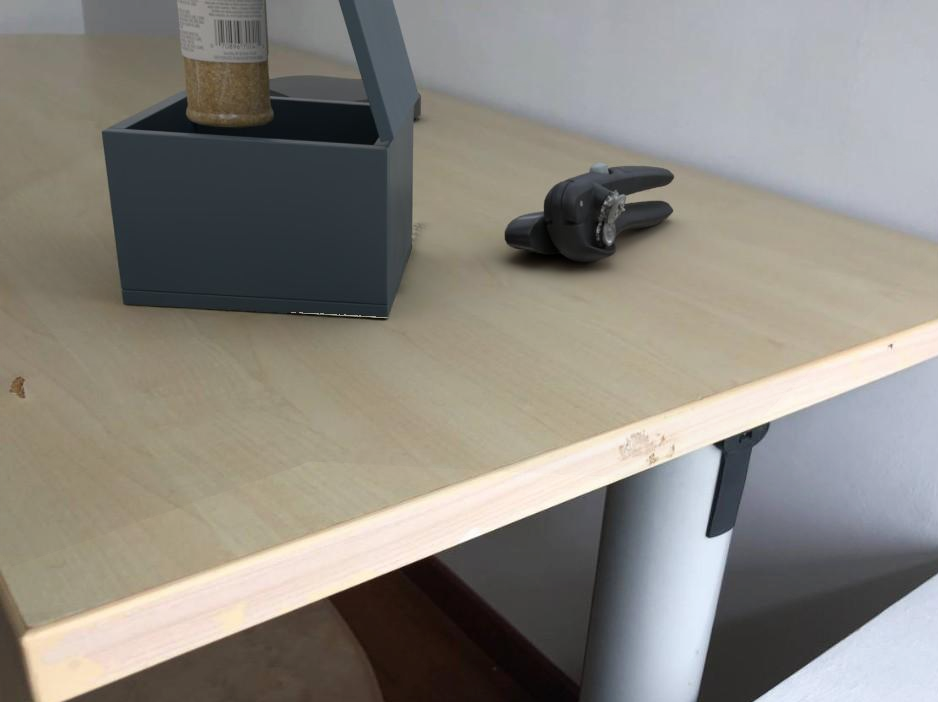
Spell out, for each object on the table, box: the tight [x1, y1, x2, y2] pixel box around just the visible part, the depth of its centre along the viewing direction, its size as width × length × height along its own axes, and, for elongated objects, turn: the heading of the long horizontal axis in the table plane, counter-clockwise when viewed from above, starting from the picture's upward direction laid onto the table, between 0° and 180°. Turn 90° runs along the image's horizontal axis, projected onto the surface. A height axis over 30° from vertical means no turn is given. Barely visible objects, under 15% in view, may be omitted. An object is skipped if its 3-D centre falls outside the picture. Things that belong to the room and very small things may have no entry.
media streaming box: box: [269, 74, 422, 119], centre depth 101 cm, size 15×15×3 cm
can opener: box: [504, 162, 675, 263], centre depth 66 cm, size 18×7×6 cm, turn 147°
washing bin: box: [101, 89, 415, 318], centre depth 55 cm, size 14×13×9 cm
